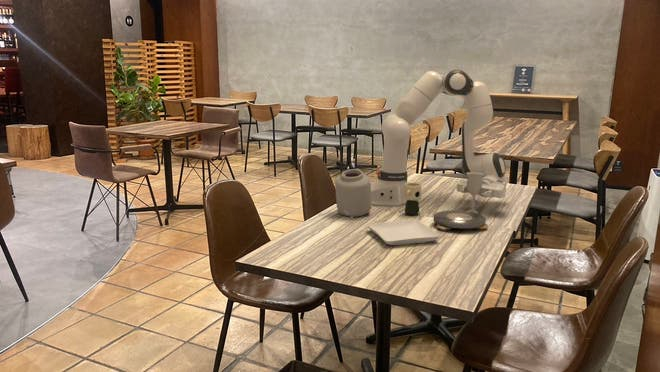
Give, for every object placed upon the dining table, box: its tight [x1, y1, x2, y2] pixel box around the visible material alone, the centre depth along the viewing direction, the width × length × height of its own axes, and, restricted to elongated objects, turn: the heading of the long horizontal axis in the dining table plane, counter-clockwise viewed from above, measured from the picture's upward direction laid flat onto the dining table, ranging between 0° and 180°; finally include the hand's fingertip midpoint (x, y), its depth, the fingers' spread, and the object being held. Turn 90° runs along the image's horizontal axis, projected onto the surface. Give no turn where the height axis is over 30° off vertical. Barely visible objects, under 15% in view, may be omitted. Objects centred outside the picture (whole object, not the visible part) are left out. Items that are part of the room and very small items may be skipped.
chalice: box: [466, 172, 484, 213], centre depth 231 cm, size 7×7×18 cm
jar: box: [334, 158, 373, 218], centre depth 231 cm, size 19×15×25 cm
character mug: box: [404, 182, 422, 216], centre depth 234 cm, size 11×7×13 cm, turn 149°
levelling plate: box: [433, 209, 489, 231], centre depth 219 cm, size 20×21×4 cm
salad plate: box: [366, 219, 441, 246], centre depth 205 cm, size 21×21×3 cm
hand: (473, 192), depth 230 cm, fingers open, 8 cm apart
